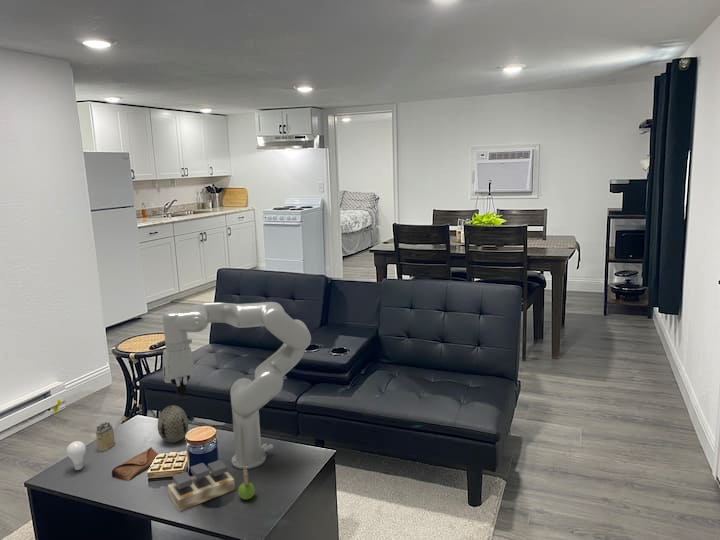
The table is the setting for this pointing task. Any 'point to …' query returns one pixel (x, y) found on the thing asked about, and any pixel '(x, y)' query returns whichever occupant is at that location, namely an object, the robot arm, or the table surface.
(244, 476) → the green maraca
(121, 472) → the sunglasses case
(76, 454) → the lightbulb
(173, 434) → the decorative egg
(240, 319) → the robot arm
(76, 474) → the table surface
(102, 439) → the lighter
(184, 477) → the switch
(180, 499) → the switch panel
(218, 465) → the switch
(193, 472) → the switch middle
